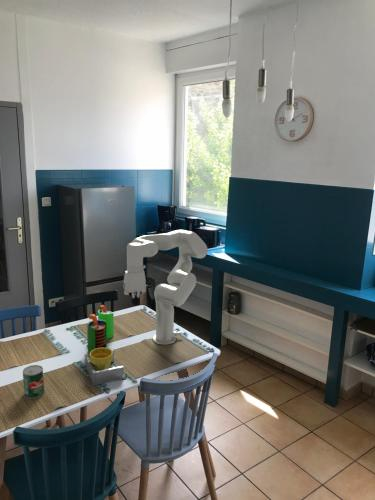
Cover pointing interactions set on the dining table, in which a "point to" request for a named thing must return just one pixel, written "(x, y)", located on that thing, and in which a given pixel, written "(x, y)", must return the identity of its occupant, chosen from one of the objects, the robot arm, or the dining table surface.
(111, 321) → the green-shelled ribbed roller
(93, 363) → the plant pot
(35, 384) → the canned tomato
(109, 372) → the grey open box
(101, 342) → the motor
